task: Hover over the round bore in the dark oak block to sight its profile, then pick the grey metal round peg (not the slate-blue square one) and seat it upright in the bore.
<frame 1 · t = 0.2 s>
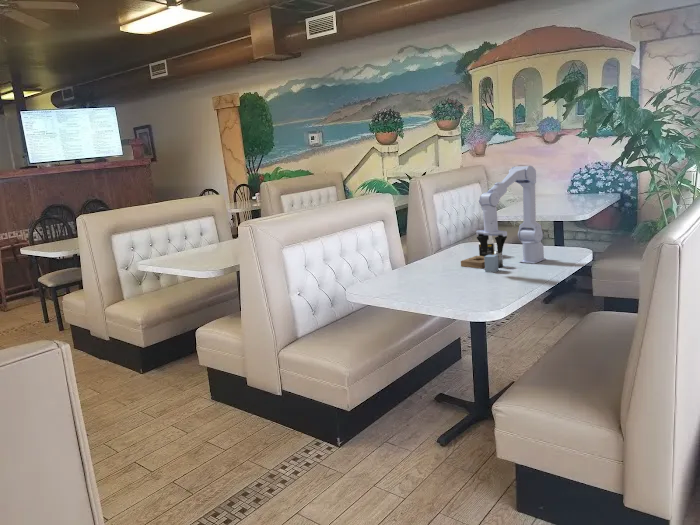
hand: (492, 252, 240), 10 cm above the table, tool pointing down, fingers open, 7 cm apart
round peg: (498, 266, 256), on the table
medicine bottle: (487, 256, 281), on the table
square peg: (491, 271, 250), on the table
bore block: (479, 264, 264), on the table
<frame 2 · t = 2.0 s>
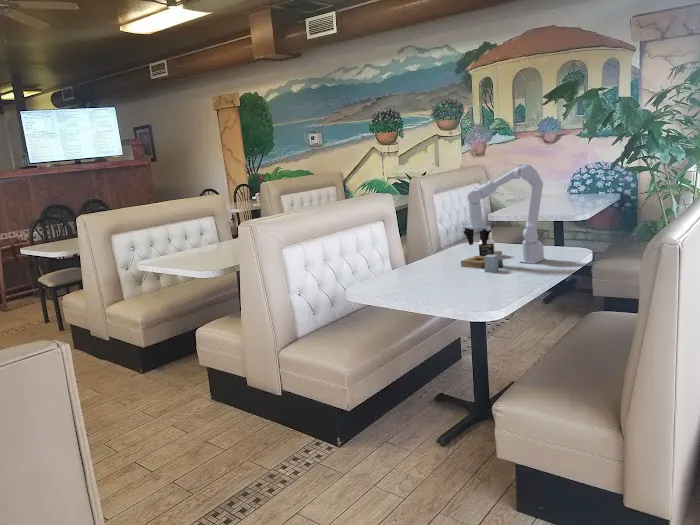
hand: (477, 245, 262), 9 cm above the table, tool pointing down, fingers open, 7 cm apart
nothing on the table moved.
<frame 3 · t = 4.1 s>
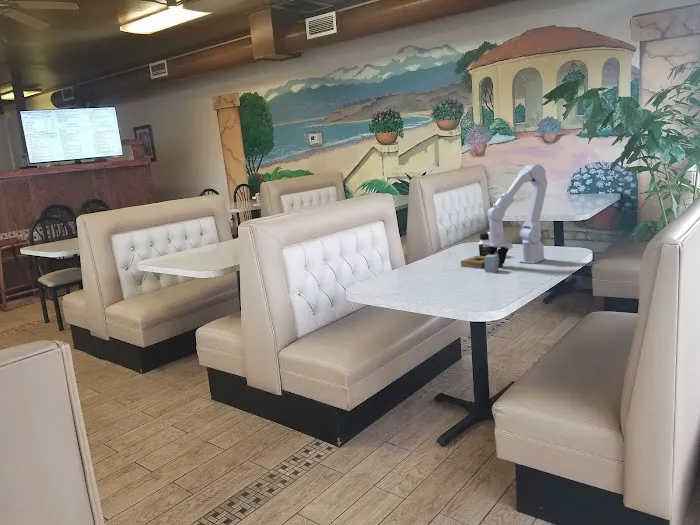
hand: (498, 263, 256), 2 cm above the table, tool pointing down, fingers closed on round peg, 4 cm apart
round peg: (498, 266, 256), on the table, touching gripper
everything else where it was.
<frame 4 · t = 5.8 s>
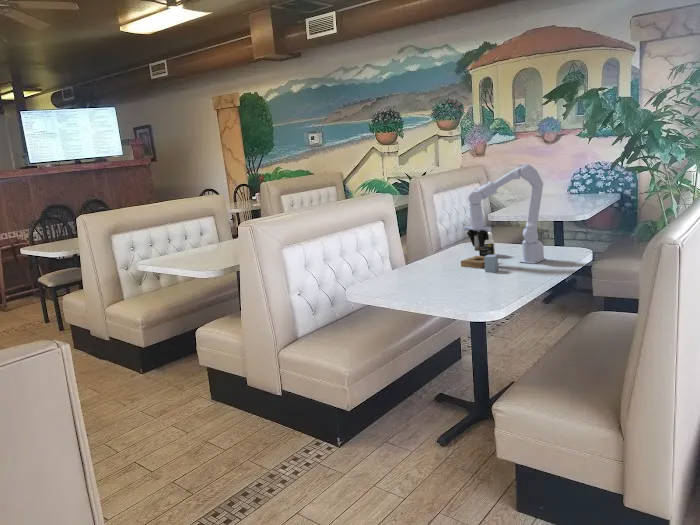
hand: (478, 246, 262), 9 cm above the table, tool pointing down, fingers closed on round peg, 4 cm apart
round peg: (478, 250, 263), point 7 cm above the table, touching gripper
everything else where it was.
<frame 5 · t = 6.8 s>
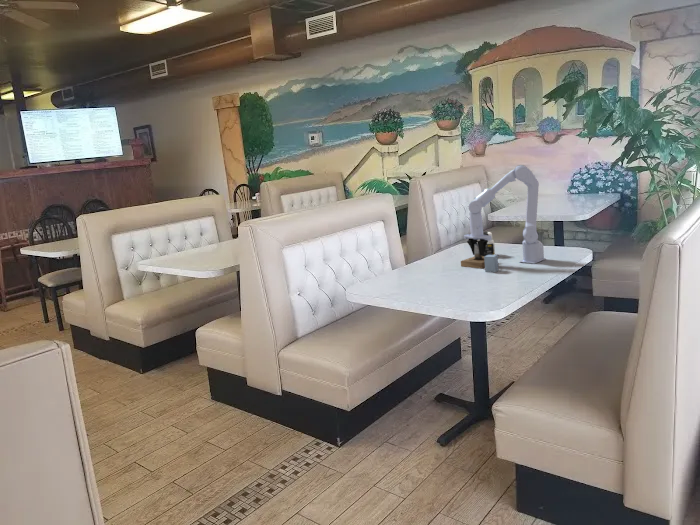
hand: (478, 254, 263), 5 cm above the table, tool pointing down, fingers closed on round peg, 4 cm apart
round peg: (478, 258, 264), point 3 cm above the table, touching gripper
everything else where it was.
when the fingers open (3 cm above the table, at t = 7.6 s): round peg drops 1 cm, resting in bore block.
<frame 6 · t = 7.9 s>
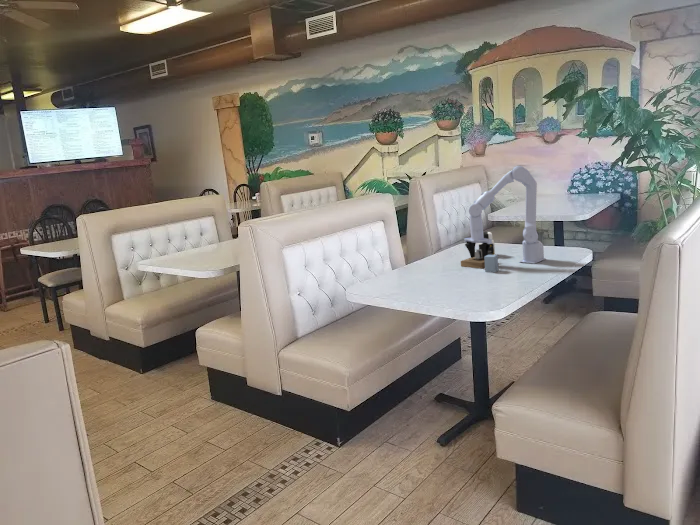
hand: (478, 258, 264), 3 cm above the table, tool pointing down, fingers open, 6 cm apart
round peg: (479, 264, 264), resting in bore block
everything else where it was.
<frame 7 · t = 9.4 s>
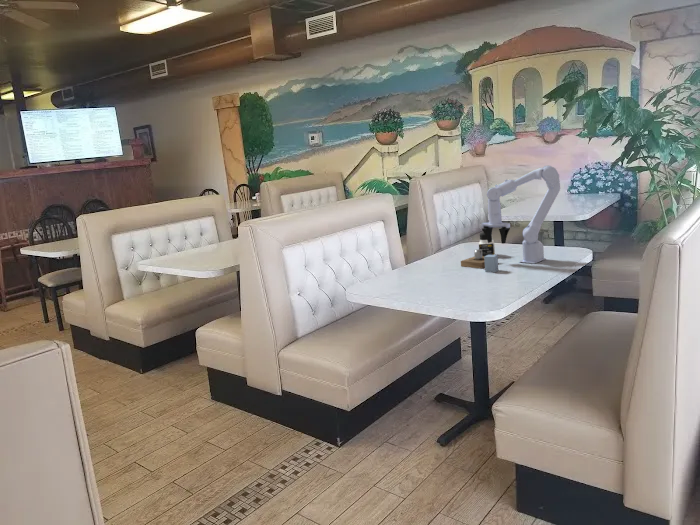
hand: (496, 242, 260), 10 cm above the table, tool pointing down, fingers open, 7 cm apart
nothing on the table moved.
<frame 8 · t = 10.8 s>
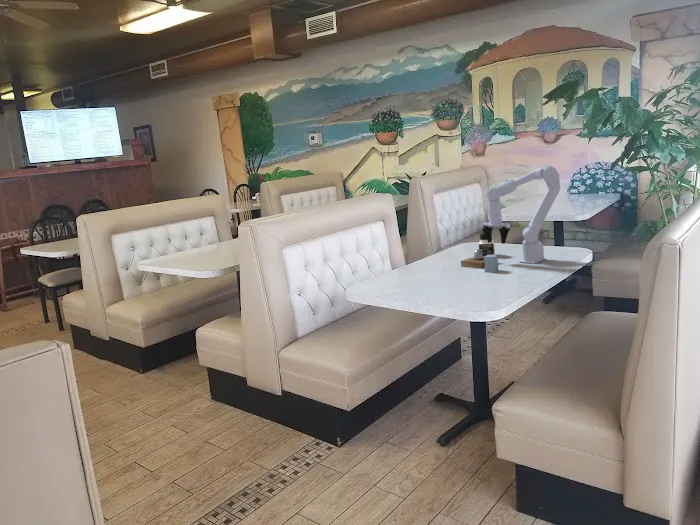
hand: (496, 242, 260), 10 cm above the table, tool pointing down, fingers open, 7 cm apart
nothing on the table moved.
at the end: round peg 0.1 cm off-centre on the bore block, point 0.0 cm above the bore block's base; round peg tilted 0°; square peg moved 0.1 cm from its start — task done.
